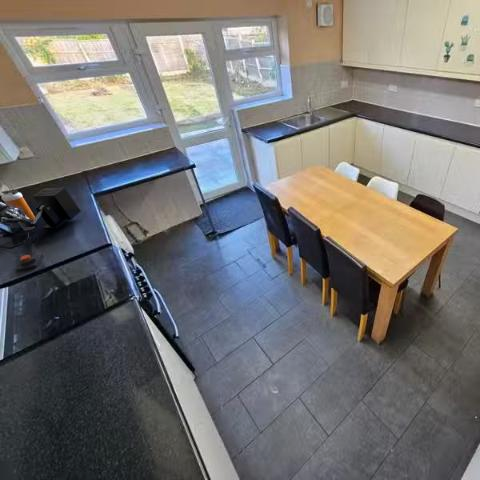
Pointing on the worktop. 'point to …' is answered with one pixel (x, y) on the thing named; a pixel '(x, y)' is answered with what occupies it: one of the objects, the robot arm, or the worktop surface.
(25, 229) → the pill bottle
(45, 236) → the worktop surface
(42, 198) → the toaster
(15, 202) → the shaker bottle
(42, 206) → the toaster lever
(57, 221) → the lever bracket
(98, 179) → the worktop surface
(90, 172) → the worktop surface
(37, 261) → the timer block
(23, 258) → the timer button
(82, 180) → the worktop surface
